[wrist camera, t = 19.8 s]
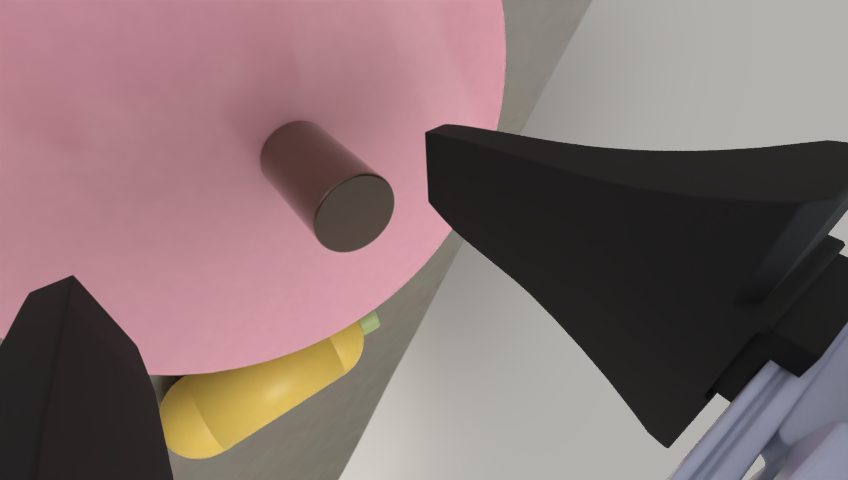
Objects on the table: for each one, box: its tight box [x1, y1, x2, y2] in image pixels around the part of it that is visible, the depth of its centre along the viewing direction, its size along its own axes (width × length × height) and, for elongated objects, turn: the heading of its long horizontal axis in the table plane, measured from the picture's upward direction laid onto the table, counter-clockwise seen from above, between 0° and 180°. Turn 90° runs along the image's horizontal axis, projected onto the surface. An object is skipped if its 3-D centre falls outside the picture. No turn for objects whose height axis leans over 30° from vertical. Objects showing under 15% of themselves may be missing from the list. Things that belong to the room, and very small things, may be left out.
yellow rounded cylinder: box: [159, 310, 380, 459], centre depth 23 cm, size 12×4×4 cm, turn 94°
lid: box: [0, 0, 506, 375], centre depth 12 cm, size 18×18×5 cm
